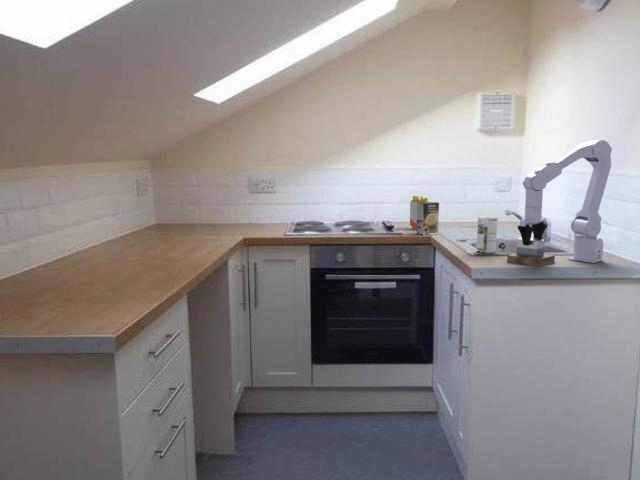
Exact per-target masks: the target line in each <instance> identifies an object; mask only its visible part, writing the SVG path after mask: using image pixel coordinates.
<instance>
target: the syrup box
mask: <svg viewBox="0 0 640 480" xmlns="http://www.w3.org/2000/svg"><path fill="white" fill-rule="evenodd" d="M497 232H498V217H496V216H494V217H493V216H489V215H485V216H484V215H481V216H478V217H477V233H476V250H478V251H480V252H479V253H482V252H484V253H483V254H492V253H493V254H494V253H496V252H497V235H498V233H497Z"/></svg>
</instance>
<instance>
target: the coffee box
mask: <svg viewBox="0 0 640 480" xmlns="http://www.w3.org/2000/svg"><path fill="white" fill-rule="evenodd" d="M439 215H440V202H435V201H428V202H418V203H417V230H415V231H416V232H415V233H420V234H429V233H436V232H438V233H439ZM420 234H419V235H420Z"/></svg>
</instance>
